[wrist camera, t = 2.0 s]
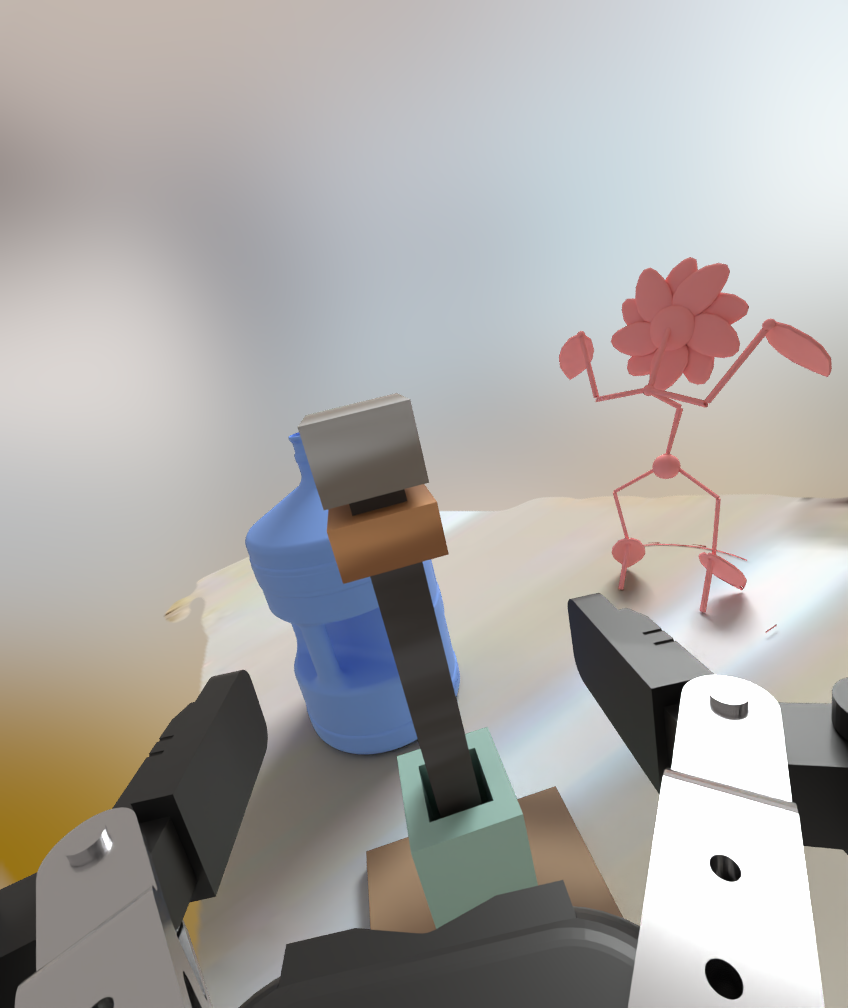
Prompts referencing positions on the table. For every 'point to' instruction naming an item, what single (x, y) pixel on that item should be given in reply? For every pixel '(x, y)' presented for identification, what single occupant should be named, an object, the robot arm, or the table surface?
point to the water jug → (335, 625)
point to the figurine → (685, 368)
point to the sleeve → (466, 835)
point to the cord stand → (419, 643)
